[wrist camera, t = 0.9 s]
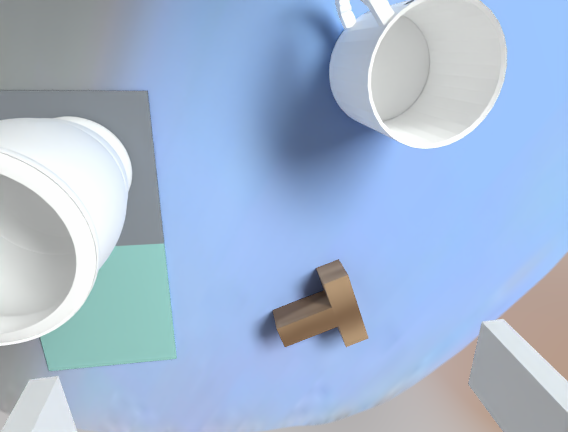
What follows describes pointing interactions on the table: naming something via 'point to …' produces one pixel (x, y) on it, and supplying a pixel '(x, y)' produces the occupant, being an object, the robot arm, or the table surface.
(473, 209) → the table surface
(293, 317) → the t block
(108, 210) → the jar
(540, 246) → the table surface
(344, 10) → the mug
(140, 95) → the mat
